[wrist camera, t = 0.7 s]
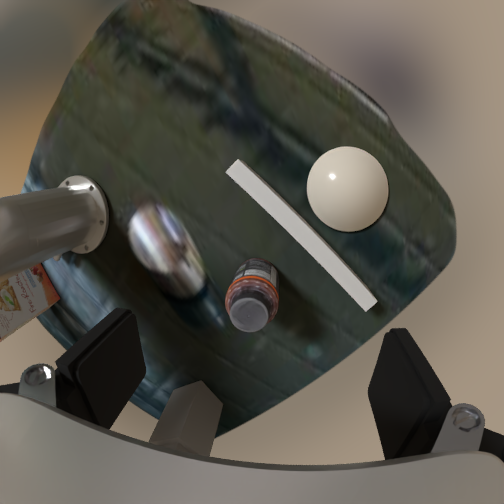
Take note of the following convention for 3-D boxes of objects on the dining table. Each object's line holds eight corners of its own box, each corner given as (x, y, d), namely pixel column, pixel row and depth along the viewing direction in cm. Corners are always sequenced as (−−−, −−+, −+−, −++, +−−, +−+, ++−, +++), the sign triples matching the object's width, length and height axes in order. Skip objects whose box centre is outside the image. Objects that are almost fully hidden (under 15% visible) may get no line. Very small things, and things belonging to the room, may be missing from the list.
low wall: (356, 295, 38) (365, 311, 33) (232, 172, 35) (225, 172, 30) (367, 286, 37) (377, 301, 33) (243, 161, 35) (237, 159, 30)
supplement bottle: (268, 303, 40) (262, 349, 29) (229, 286, 39) (210, 327, 29) (286, 267, 38) (288, 304, 27) (246, 249, 38) (232, 279, 27)
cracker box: (62, 297, 44) (-13, 350, 24) (49, 308, 45) (-19, 358, 25) (29, 235, 41) (-53, 267, 21) (18, 250, 43) (-56, 283, 23)
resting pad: (346, 247, 36) (347, 248, 36) (288, 187, 35) (288, 188, 35) (401, 191, 33) (403, 192, 33) (347, 130, 32) (348, 129, 32)
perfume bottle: (223, 404, 46) (201, 483, 29) (195, 412, 47) (169, 484, 30) (201, 380, 45) (169, 460, 28) (173, 389, 46) (138, 462, 29)
